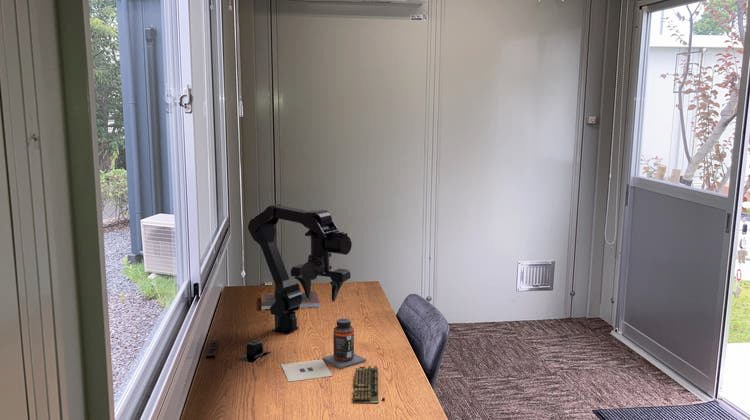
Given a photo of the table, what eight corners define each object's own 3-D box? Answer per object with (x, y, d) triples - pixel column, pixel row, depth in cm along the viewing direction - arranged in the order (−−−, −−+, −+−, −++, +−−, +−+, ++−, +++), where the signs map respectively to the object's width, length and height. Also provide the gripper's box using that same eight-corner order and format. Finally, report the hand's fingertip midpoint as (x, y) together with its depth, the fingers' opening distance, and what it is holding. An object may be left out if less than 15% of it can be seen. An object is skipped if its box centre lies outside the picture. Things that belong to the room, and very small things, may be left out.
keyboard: (353, 370, 171) (353, 363, 171) (385, 370, 171) (385, 363, 171) (350, 405, 149) (350, 398, 149) (386, 405, 149) (387, 398, 149)
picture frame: (261, 312, 223) (320, 308, 227) (261, 305, 223) (320, 302, 227) (261, 299, 239) (316, 296, 243) (261, 293, 239) (316, 290, 243)
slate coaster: (322, 359, 177) (322, 357, 177) (347, 352, 183) (347, 350, 182) (340, 369, 170) (340, 367, 170) (366, 361, 176) (366, 359, 176)
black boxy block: (258, 348, 187) (258, 334, 186) (277, 352, 184) (277, 338, 183) (231, 362, 176) (231, 347, 176) (251, 367, 173) (251, 351, 172)
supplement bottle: (355, 361, 174) (355, 323, 172) (334, 362, 173) (334, 324, 171) (352, 353, 180) (352, 316, 178) (332, 354, 179) (332, 317, 177)
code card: (281, 365, 173) (281, 364, 173) (322, 359, 177) (322, 359, 177) (288, 381, 162) (288, 381, 162) (332, 376, 165) (332, 375, 165)
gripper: (280, 253, 186) (281, 302, 188) (333, 259, 178) (333, 310, 180) (300, 246, 196) (301, 293, 198) (351, 251, 188) (351, 300, 190)
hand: (320, 299), depth 192 cm, fingers open, 9 cm apart
